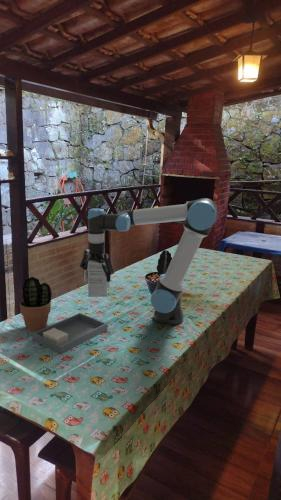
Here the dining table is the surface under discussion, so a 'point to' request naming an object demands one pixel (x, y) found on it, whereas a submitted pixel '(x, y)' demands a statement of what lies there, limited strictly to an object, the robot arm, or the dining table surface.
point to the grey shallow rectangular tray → (72, 332)
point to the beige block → (56, 336)
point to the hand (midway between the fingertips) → (96, 284)
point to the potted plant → (35, 304)
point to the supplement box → (96, 280)
